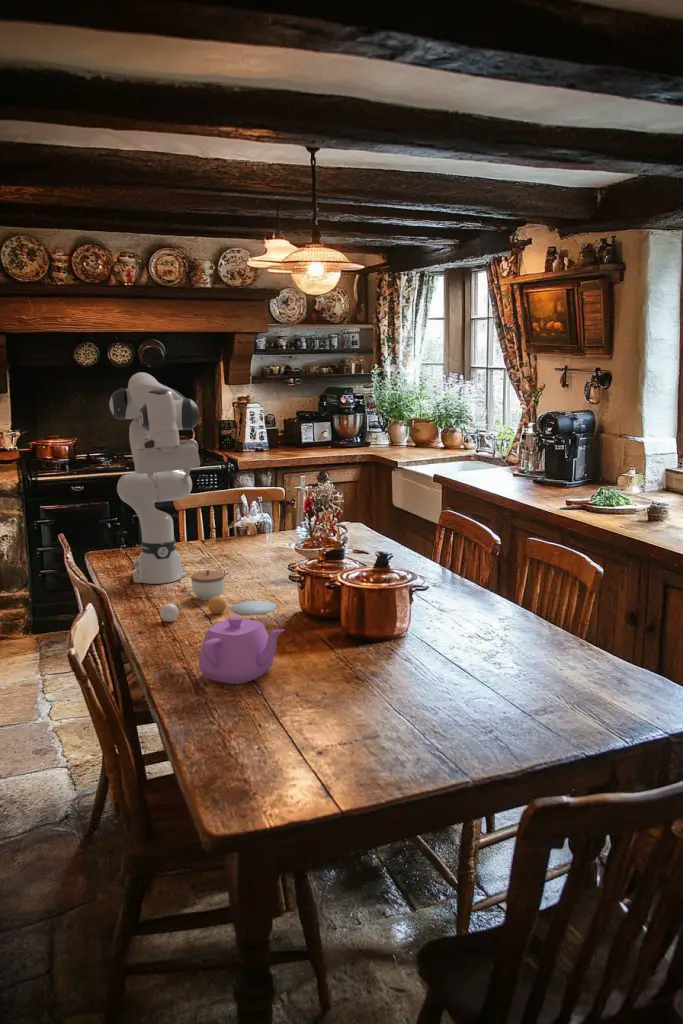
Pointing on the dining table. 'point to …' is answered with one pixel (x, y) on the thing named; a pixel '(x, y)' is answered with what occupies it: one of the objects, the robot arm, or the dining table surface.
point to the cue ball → (169, 612)
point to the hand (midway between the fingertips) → (170, 485)
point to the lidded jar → (207, 584)
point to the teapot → (237, 650)
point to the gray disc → (253, 607)
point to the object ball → (217, 605)
